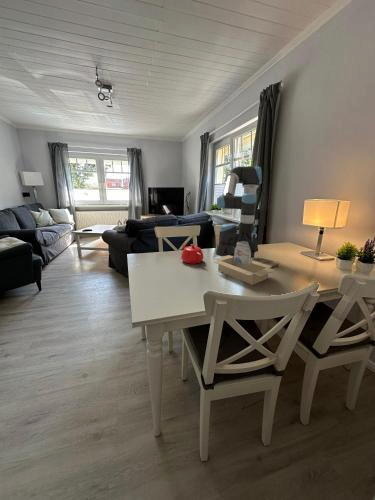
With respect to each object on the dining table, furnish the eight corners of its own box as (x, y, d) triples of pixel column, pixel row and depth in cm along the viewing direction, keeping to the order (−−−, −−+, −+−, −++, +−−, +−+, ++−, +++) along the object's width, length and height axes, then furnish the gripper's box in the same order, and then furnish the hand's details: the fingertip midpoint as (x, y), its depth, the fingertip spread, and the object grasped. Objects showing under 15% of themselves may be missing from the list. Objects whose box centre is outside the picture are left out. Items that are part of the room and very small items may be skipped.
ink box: (234, 262, 124) (236, 242, 121) (236, 259, 129) (238, 240, 125) (249, 264, 121) (251, 244, 117) (251, 262, 125) (253, 242, 121)
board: (248, 263, 145) (248, 262, 144) (260, 260, 153) (260, 258, 153) (266, 270, 134) (267, 268, 134) (278, 265, 143) (278, 263, 142)
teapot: (211, 264, 142) (212, 247, 138) (191, 268, 134) (192, 250, 130) (191, 254, 162) (191, 239, 159) (173, 257, 154) (173, 241, 151)
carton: (208, 270, 132) (209, 260, 130) (232, 263, 145) (232, 253, 144) (254, 289, 108) (255, 278, 106) (277, 279, 121) (278, 268, 119)
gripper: (227, 220, 124) (224, 256, 130) (260, 226, 107) (255, 267, 114) (235, 219, 128) (232, 254, 135) (268, 224, 112) (263, 264, 118)
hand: (242, 260), depth 124 cm, fingers closed on ink box, 10 cm apart
